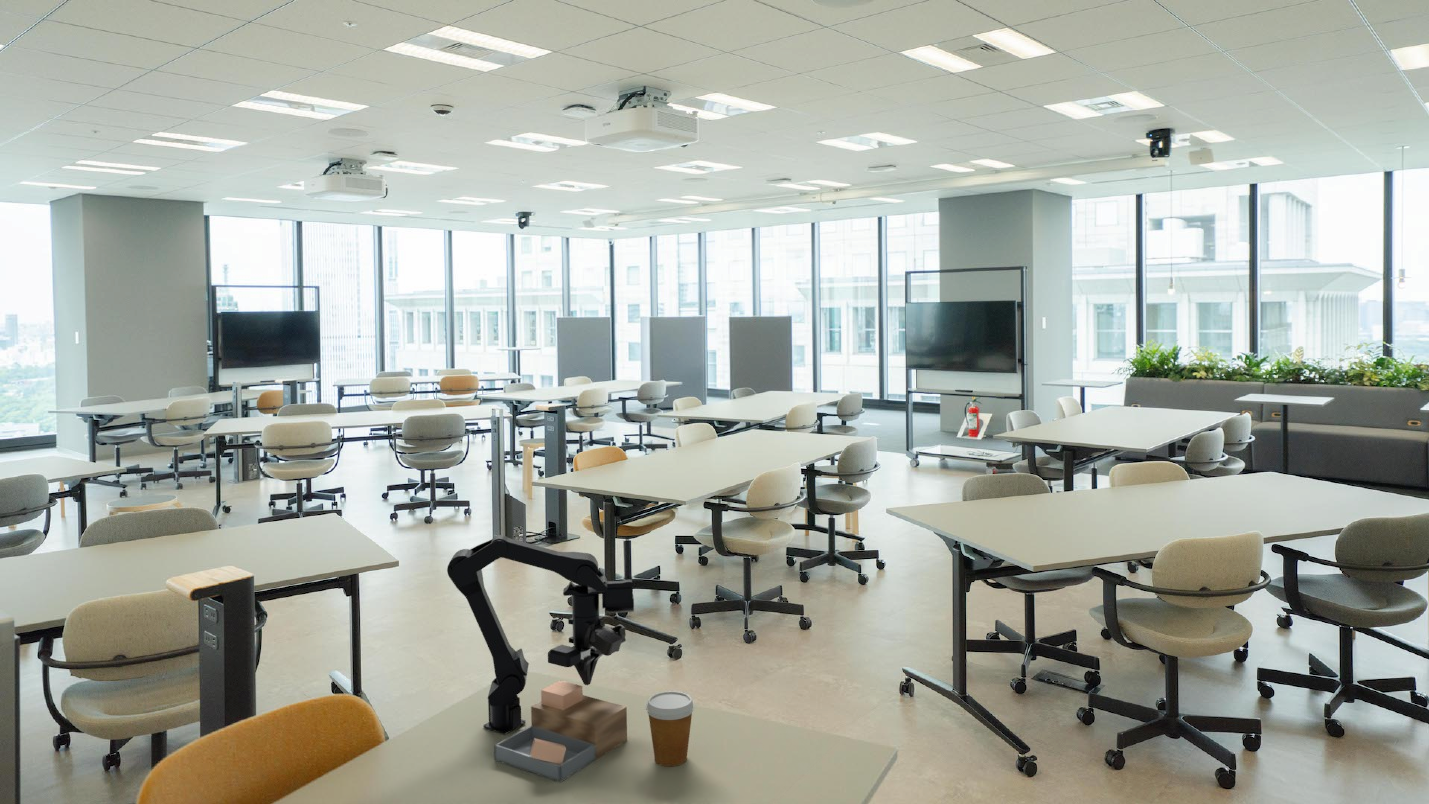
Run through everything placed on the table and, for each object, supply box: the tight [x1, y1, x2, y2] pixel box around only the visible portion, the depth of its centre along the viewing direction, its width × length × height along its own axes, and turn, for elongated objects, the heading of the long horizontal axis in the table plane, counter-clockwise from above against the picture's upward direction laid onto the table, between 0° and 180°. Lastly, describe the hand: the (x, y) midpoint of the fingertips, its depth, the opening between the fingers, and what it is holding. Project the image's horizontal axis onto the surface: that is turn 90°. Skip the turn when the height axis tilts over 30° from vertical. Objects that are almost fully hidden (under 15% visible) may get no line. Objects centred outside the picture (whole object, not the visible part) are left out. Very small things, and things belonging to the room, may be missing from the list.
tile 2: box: [530, 738, 566, 764], centre depth 174 cm, size 6×6×3 cm
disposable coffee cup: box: [645, 690, 695, 767], centre depth 177 cm, size 10×10×12 cm
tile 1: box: [540, 679, 583, 710], centre depth 188 cm, size 6×6×3 cm
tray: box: [493, 724, 597, 783], centre depth 178 cm, size 17×10×3 cm, turn 58°
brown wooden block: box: [530, 695, 628, 760], centre depth 186 cm, size 17×10×7 cm, turn 58°
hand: (587, 684), depth 195 cm, fingers closed
